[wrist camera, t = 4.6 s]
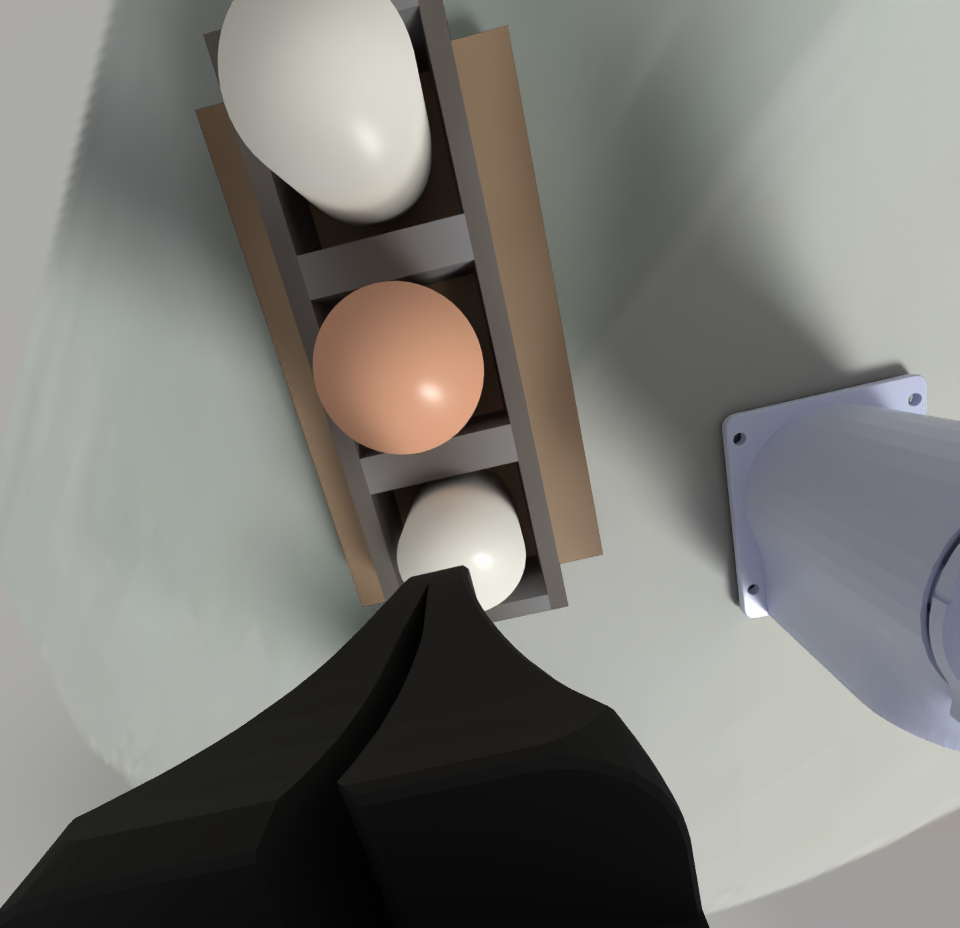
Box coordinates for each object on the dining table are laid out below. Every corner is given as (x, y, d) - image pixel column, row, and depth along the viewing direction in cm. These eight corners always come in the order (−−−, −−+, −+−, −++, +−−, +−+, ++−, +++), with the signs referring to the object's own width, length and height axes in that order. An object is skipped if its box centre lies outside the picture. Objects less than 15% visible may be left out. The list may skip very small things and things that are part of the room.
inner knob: (524, 549, 19) (537, 600, 15) (426, 570, 19) (415, 626, 15) (502, 453, 18) (510, 484, 14) (400, 476, 18) (381, 513, 14)
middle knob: (493, 410, 15) (500, 433, 12) (373, 438, 15) (342, 470, 12) (464, 280, 14) (461, 261, 11) (336, 312, 14) (289, 304, 11)
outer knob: (447, 208, 14) (438, 162, 10) (315, 242, 14) (258, 209, 10) (411, 47, 13) (386, -71, 9) (268, 86, 13) (186, -14, 9)
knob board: (503, 62, 16) (516, -53, 12) (590, 534, 21) (626, 593, 16) (227, 136, 17) (128, 55, 12) (372, 582, 21) (342, 653, 17)
